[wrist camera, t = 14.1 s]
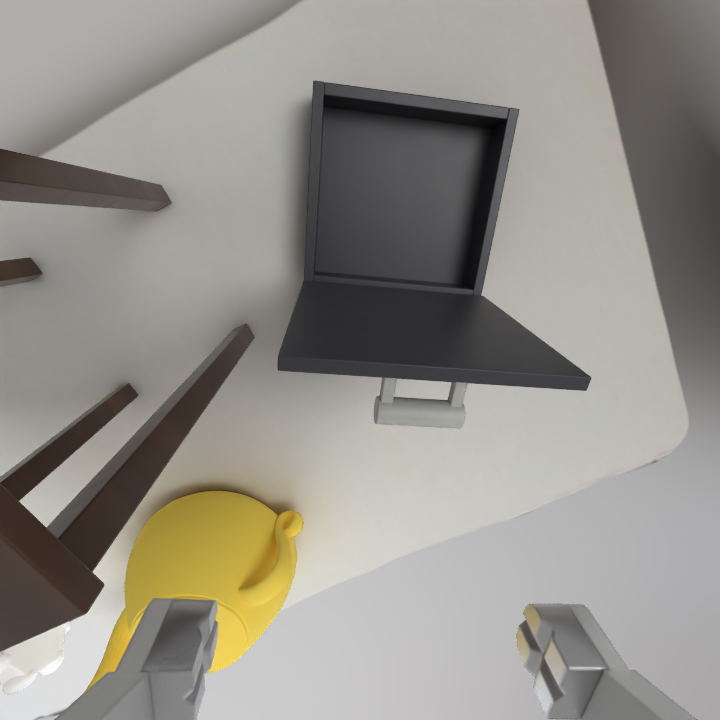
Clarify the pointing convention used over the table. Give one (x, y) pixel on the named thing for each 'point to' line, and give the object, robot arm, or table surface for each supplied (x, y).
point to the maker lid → (418, 347)
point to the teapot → (211, 568)
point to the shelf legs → (165, 427)
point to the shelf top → (37, 577)
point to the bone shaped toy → (32, 659)
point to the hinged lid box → (403, 188)
